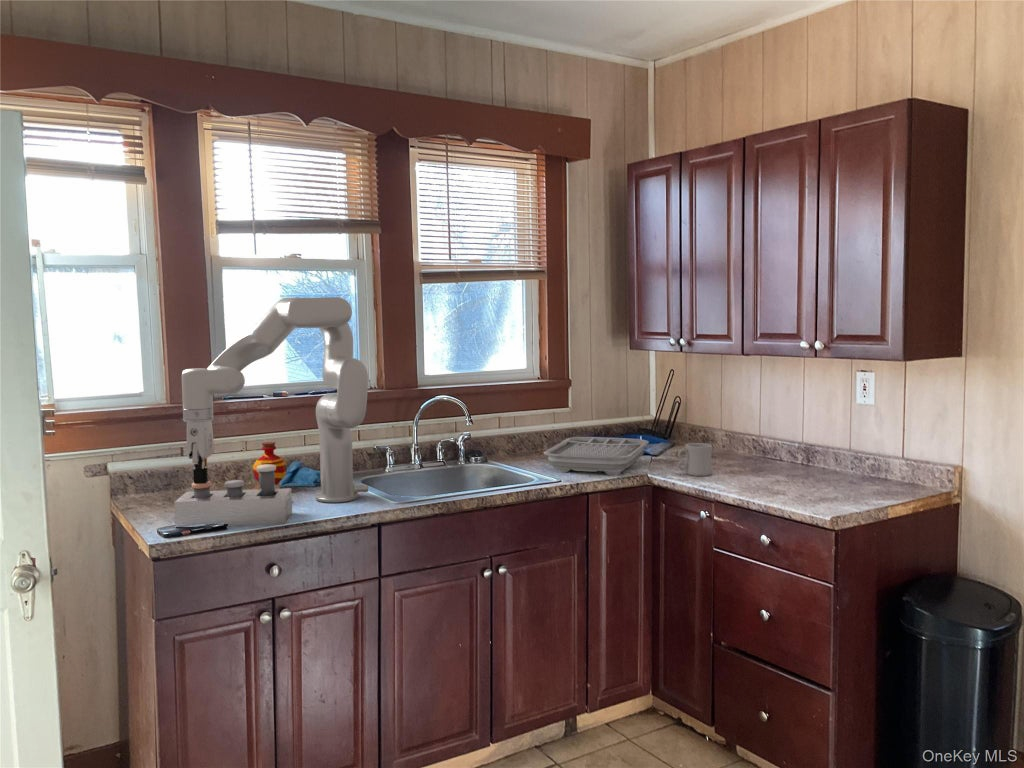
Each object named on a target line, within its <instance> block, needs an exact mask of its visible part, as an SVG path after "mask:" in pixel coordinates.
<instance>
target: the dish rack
mask: <svg viewBox="0 0 1024 768" xmlns="http://www.w3.org/2000/svg"><path fill="white" fill-rule="evenodd" d="M649 442H650V441H649V440H646V439H642V438H641V439H640V438H627V437H626V438H625V437H602V436H601V437H599V436H573V437H567V438H565V439H563V440H562V441H561V442H559V443H557V444H555V445H553V446H551V447H550V448H548V449H546V450H545V451H543V454H544V456H548V458H547V459H548V463H547V464H548V466H550V467H552V468H553V469H557V472H561V473H568V472H569V471H570V470H572V471H577V472H581V471H582V472H592V473H593V472H597V471H598V472H604V473H605V474H606V475H607V476H619V475H620V474H621V472H623V471H624V470H626V469H627V468H629V467H631V466H632V465H633V464H634V463H635V462H637V460H639V459H640V458H641V457H642V456H643V455H644V454H645V452H644V450H645V449H644V448H645V447H646V446H647V445H648V444H649Z"/></svg>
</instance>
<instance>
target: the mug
mask: <svg viewBox="0 0 1024 768" xmlns="http://www.w3.org/2000/svg"><path fill="white" fill-rule="evenodd" d="M682 452H685V465H684V466H681V464H682V463H683V462H684V457H683V456H682V455H681V453H682ZM712 452H713V445H712V444H710V443H703V442H690V443H686V444H685V445H684V448H681V449H679V450H678V451H677V457H678V458H679V459H680V460H679V461H678V462H677V467H678V469H679V470H681V471H684V472H685V475H688V476H694V477H706V476H711V475H712V474H713V463H712Z"/></svg>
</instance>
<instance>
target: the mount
mask: <svg viewBox="0 0 1024 768" xmlns="http://www.w3.org/2000/svg"><path fill="white" fill-rule="evenodd" d="M292 493H293V491H292V487H291V488H289V487H287V488H285V487H284V488H280V489H275V495H273V496H260V490H259V489H253V488H252V489H243V497H227V489H225V490H210V498H194V490H193V491H186V492H185V493H183V494H182V495H181V496H180V497H179V498H177V499H176V500H175V501H174V521H175V522H174V526H175V528H176V527H177V526H185V525H195V524H209V523H210V524H211V523H225V524H228V526H227V527H241V526H266V525H267V526H268V525H286V524H287V523H288V522H289V519H290V518H291V516H292V514H293V494H292Z"/></svg>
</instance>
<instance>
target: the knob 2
mask: <svg viewBox="0 0 1024 768" xmlns="http://www.w3.org/2000/svg"><path fill="white" fill-rule="evenodd" d="M274 470H276V465H260V466H257V471H259V482H258V485H259V490H260V496H273V495H275V478H274Z"/></svg>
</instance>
